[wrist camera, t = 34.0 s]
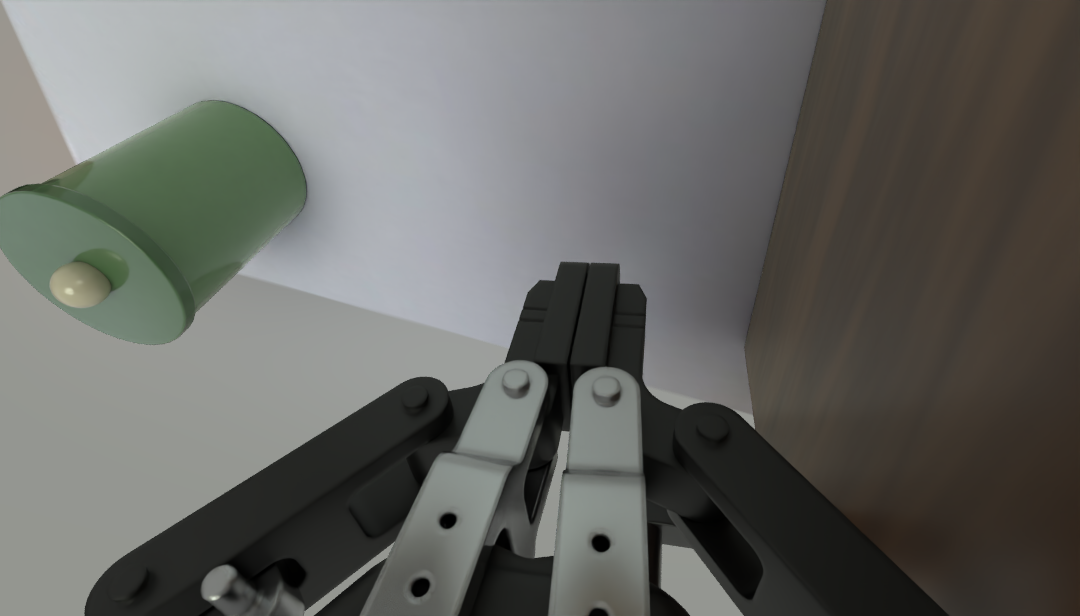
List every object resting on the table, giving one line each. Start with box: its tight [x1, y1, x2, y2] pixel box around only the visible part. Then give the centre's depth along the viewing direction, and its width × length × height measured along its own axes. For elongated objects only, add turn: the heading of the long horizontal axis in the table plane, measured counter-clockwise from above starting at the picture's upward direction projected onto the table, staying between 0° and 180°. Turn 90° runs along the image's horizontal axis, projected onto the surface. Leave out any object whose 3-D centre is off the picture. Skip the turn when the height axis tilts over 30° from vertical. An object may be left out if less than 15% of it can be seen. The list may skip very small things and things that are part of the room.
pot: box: [0, 100, 306, 345], centre depth 21 cm, size 7×7×10 cm
